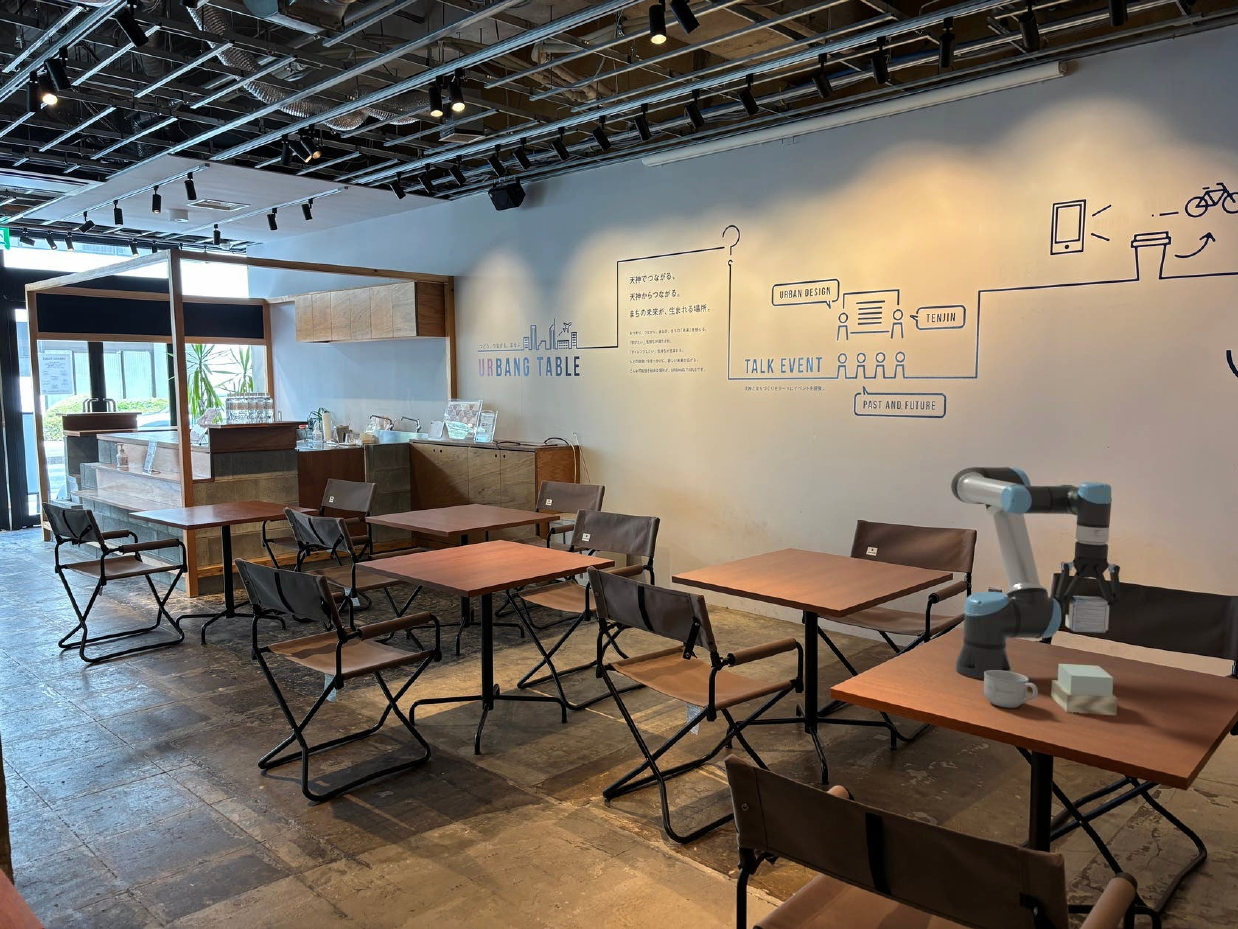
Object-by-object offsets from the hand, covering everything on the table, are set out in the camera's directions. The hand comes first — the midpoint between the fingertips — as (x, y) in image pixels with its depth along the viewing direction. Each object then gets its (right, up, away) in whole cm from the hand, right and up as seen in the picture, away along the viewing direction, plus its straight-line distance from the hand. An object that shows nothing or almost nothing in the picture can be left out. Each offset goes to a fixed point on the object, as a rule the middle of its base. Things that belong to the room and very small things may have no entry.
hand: (1086, 627), depth 228 cm
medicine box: (0, -1, 0) cm, 1 cm away
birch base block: (0, -21, +2) cm, 22 cm away
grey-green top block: (0, -16, +1) cm, 17 cm away
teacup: (-20, -21, +1) cm, 29 cm away
